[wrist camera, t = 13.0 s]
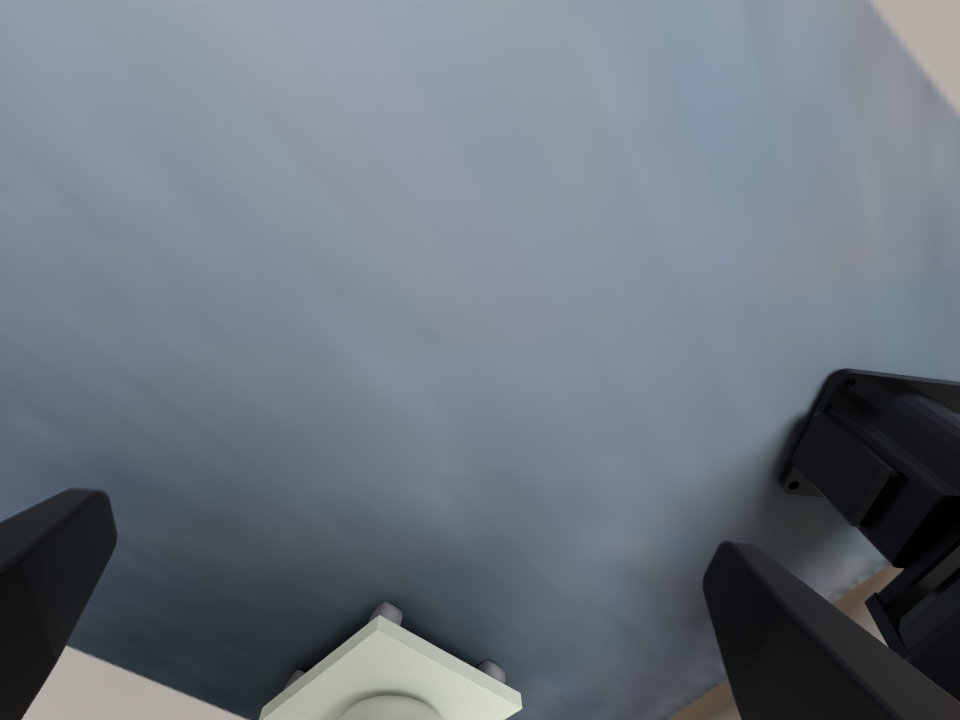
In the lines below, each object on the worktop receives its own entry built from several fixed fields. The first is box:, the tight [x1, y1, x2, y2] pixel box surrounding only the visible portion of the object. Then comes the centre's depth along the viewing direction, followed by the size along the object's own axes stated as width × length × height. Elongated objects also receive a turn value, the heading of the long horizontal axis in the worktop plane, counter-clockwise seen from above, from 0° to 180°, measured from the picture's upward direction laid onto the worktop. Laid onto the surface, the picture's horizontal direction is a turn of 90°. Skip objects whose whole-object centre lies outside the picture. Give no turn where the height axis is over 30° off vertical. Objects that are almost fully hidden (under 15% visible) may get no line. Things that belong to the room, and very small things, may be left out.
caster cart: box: [259, 602, 522, 720], centre depth 29 cm, size 10×10×2 cm
